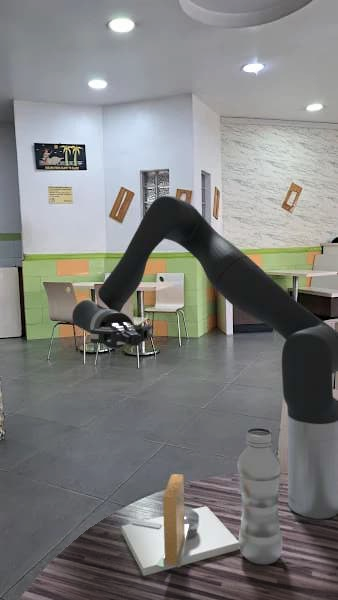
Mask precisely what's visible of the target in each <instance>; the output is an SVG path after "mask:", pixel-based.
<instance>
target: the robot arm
mask: <svg viewBox="0 0 338 600" xmlns="http://www.w3.org/2000/svg"><path fill="white" fill-rule="evenodd" d="M165 239H166V240H168V241H172V242H175V243H176V244H178V245H179V246H181V247H182V248H184V249H185V251H187V252H189V254H191V255H192V256H194V258H195V259H196V260H197V261H198V262H199V264H200V266H201V267H202V269H203V271H204V274H205V276H206V277H207V279H208V281H209V283H210V284H211V285H212V287H213V288H215V291H217V292H218V293H219V294H220V295H221V296H222V297H223V298H224V299H225V300H227V302H228V303H229V304H231V305H232V306H233V307H234V308H236V309H237V310H239V311H241V312H242V313H244V314H246V315H248V316H249V317H251V318H253V319H255V320H257V321H260V322H261V323H263V324H265V325H267V326H269V327H270V328H272V329H274V331H276V332H277V333H278V334H279V335H280V336H281V337H283V339H284V340H285V342H284V343H283V346H282V350H281V351H282V353H281V373H282V375H281V376H282V377H281V378H282V392H283V400H284V402H285V404H286V406H287V505H288V507H289V509H290V510H292V511H293V512H294V513H296V514H298V515H300V516H302V517H305V518H309V519H315V520H316V519H317V520H324V519H330V518H333V517H335V516H337V515H338V399H337V398H336V397H334V394H333V393H334V392H333V375H334V374H336V373H337V372H338V331H337V330H336V329H335V328H333V327H332V326H331V325H329V324H328V323H326V322H325V321H324V320H322V319H321V318H319V317H318V316H316V315H315V314H314V313H313V312H310V311H309V309H307V308H306V307H304V306H303V305H302V304H301V303H299V302H298V301H296V299H294V297H292V296H291V295H290V294H289V293H288V292H287V291H286V290H285V289H284V288H283V287H281V285H279V283H277V282H276V281H275V280H273V278H272V277H270V276H269V275H268V274H267V273H266V272H265V271H264V270H263V268H261V267H260V266H259V265H258V264H257V263H256V262H254V260H252V259H251V258H250V257H249V256H248V255H246V254H245V253H244V251H241V250H240V249H239V248H238V247H236V245H234V244H233V243H231V242H230V241H229V240H227V239H226V238H225V237H223V236H222V235H220V234H219V233H218V232H217V231H216V230H215V228H213V227H212V226H211V224H209V222H208V221H207V220H206V219H205V217H204V216H203V215H202V214H201V213H200V212H199V211H198V209H197V208H195V206H193V205H192V204H191V203H190V202H187V201H185V200H183V199H181V198H178V197H176V196H174V195H171V194H169V195H168V194H165V195H164V194H163V195H161V196H158V197H157V198H156V199H154V200H153V201H152V203H151V204H150V206H149V207H148V209H147V210H146V211H145V213H144V215H143V218H142V219H141V221H140V223H139V225H138V228H137V229H136V230H135V233H134V234H133V237H132V238H131V240H130V242H129V244H128V245H127V248H126V250H125V252H124V253H123V255H122V257H121V258H120V260H119V261H118V263H117V264H116V266H115V267H114V269H113V270H112V271H111V272H110V274H109V275H108V277H106V279H105V280H104V281H103V283H102V284H101V286H100V287H99V288H98V291H97V295H98V298H99V299H100V301H101V302H102V303H103V304H104V305H105V306H106V307H108V308H105V307H104V306H101V305H100V304H98V303H97V302H94V301H93V300H91V299H85V300H82V301H80V302H78V303H77V305H76V306H74V309H73V311H72V316H71V318H72V322H73V324H74V325H75V326H76V327H78V328H80V329H82V330H83V331H85V332H87V333H89V334H90V343H92V344H102V345H104V346H105V347H107V348H108V349H109V348H110V349H113V350H114V349H115V350H116V349H121V348H123V347H125V346H130V347H139V346H140V344H142V343H143V342H145V341H148V340H149V339H152V337H153V325H152V324H149V323H148V324H146V325H141V327H140V326H139V325H137V324H134V322H133V321H132V319H131V318H130V317H129V315H127V314H125V313H123V312H122V309H123V307H124V306H125V304H126V303H127V302H128V301H129V299H130V298H131V296H132V295H133V294H134V293H135V292H136V290H137V289H138V288H139V286H140V284H141V282H142V280H143V279H144V273H145V271H146V267H147V262H148V261H149V258H150V257H151V254H152V253H153V252H154V250H155V249H156V247H157V246H158V245H159V244H160V243H162V242H163V241H164V240H165Z"/></svg>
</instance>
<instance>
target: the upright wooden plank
mask: <svg viewBox="0 0 338 600" xmlns="http://www.w3.org/2000/svg"><path fill="white" fill-rule="evenodd" d="M184 486H185V479H184V474H179V473H172V474H171V475H170V478H169V480H168V483H167V486H166V488H165V491H164V494H163V496H162V505H163V516H164V549H165V554H164V558H163V560H164V566H171V567H174V568H181V566H182V565H181V562H182V558H183V554H184V550H185V546H186V542H187V538H188V534H189V532H191V531H194V530H195V529H197V528H198V526H199V515H198V514H197V513H196V512H195V511H193V510H192V509H188V508H185V487H184Z"/></svg>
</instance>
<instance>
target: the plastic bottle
mask: <svg viewBox="0 0 338 600" xmlns="http://www.w3.org/2000/svg"><path fill="white" fill-rule="evenodd" d="M272 436H273V433H272V431H271V430H270V429H268V428H264V427H251V428H248V429H247V431H246V439H245V444H246V445H247V447H246V448H245V449H244V450H243V452H241V454H240V455H239V458H238V461H237V463H236V466H237V473H238V474H237V475H238V479H239V480H238V481H239V485H240V493H241V495H240V496H241V516H240V517H241V520H240V526H239V532H238V541H239V550H240V553H241V554H242V555H243V556H244V558H245V559H246V560H247V561H249V562H251V563H252V564H255V565H256V564H257V565H264V566H265V565H271V564H273V563H276V562H277V561H278V559H280V557H281V555H282V552H283V551H282V550H283V545H284V542H283V535H282V530H281V528H280V526H281V525H280V516H279V489H280V482H281V475H282V465H281V462H280V459H279V458H278V456H277V454H276V453H275V452H274V450H273V448H272V446H273V439H272V438H273V437H272Z"/></svg>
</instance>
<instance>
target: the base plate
mask: <svg viewBox="0 0 338 600" xmlns="http://www.w3.org/2000/svg"><path fill="white" fill-rule="evenodd" d="M191 510H193V511H195V512H196V513H197V514H198V515H199V526H198V528H197V529H195V530H194V531H191V532H189V534H188V538H187V542H186V546H185V550H184V554H183V558H182V562H181V566H185V565H188V564H192V563H195V562H199V561H202V560H206V559H209V558H213V557H217V556H222V555H225V554H227V553H228V554H229V553H231V552H235V551H239V550H240V546H239V539H237V538H236V537H235V536H234V535H233V534H232V533H231V531H230V530H229V529H228V528H227V527H226V525H224V524H223V523H222V521H221V520H220V519H219V518H218V517H217V516H216V514H214V513H213V512H212V510H211V509H210V508H209V507H208V506H207V505H206V506H201V507H197V508H196V507H195V508H193V509H191ZM121 533H122V537H123V538H124V540H125V542H126V543H127V546H128V548H129V550H130V551H131V554H132V555H133V558H134V560H135V562H136V563H137V566H138V567H139V569H140V572H141V574H142V576H144V577H145V576H149V575H152V574H156V573H159V572H163V571H167V570H169V569H174V568H175V567H171V566H164V560H163V558H164V554H165V549H164V515H161V516H159V517H154V518H150V519H146V520H140V519H134V520H133V521H132V522H131V523H128V524H124V525H121Z"/></svg>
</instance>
